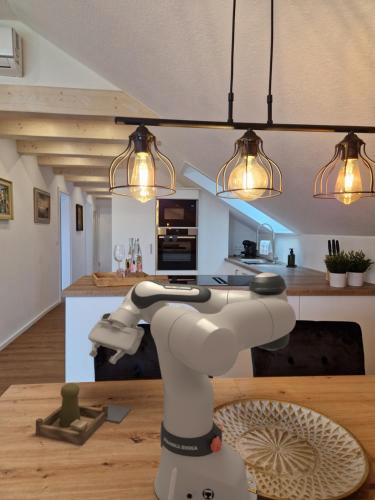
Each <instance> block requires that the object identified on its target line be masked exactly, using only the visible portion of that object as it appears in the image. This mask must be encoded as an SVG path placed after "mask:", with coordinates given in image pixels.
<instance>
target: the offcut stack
mask: <svg viewBox="0 0 375 500" xmlns="http://www.w3.org/2000/svg"><path fill="white" fill-rule="evenodd" d="M88 426H89V425H88V421H85V420H82V419H81V420H78V419H77V420H75V421H74V422H73V423H71V424H70V428H68V430H73V431H77V432H79V429H80V428H81V427H86V428H87V427H88Z"/></svg>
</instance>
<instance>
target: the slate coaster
mask: <svg viewBox="0 0 375 500" xmlns="http://www.w3.org/2000/svg"><path fill="white" fill-rule="evenodd" d="M107 405H108V417H107V418H105V421H104V422H109V423H115V424H119V425H120V424H121V423H122V422H123V420H124V419H125V418H126V416H127V415H128V414H129V413H130V412H131V411H132V407H129V406H128V407H127V406H123V405H122V406H121V405H116V404H110V403H108V404H107ZM97 417H98V416H96V417H95V418H94V420H95V419H96V418H97Z"/></svg>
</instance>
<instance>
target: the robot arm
mask: <svg viewBox="0 0 375 500" xmlns="http://www.w3.org/2000/svg"><path fill="white" fill-rule="evenodd" d="M286 285H287V284H286V281H285V279H284V278H283V277H282V276H281V275H280V274H276V273H274V272H262V273H258V274H256V275H255V276H252V278H251V279H250V280H249V285H248V290H243V289H242V290H240V289H230V290H227V289H226V290H224V289H223V290H222V289H215V288H208V287H206V286H203V285H197V284H185V283H169V282H161V281H157V280H155V279H144V280H140V281H139V282H137V283H136V284H134V285H133V286H132V287H131V288H130V290H129V291H128V292H127V294H125V295H126V296H125V297H124V299H123V301H122V303H121V305H120V306H118V308H117V309H116V310H115V311H112V312H105V313H102V314H101V315H100V320H98V321H97V322H96V323H95V325H94V326H93V328H92V329H91V330H90V332H89V333H88V335H87V336H88V337H87V338H88V340H89V341H90V342H91V343H92V344H91V350H90V352H89V354H88V355H89V356H90V357H92V358H95V357H96V356H97V355H98V348H100V346H102V347H105V348H108V349H111V350H115V351H116V353H115V354H114V355H111V356H110V358H109V359H108V362H109V363H110V364H113V365H115V364H116V363H117V361H118V360H120V359H121V358H122V357H124V355H125V354H128V355H135V354H136V352H137V350H138V349H139V346H140V344H141V341H142V339H143V337H144V335H145V330H144V328H143V326H138V325H139V323H140V321H141V320H143V321H144V322H145V323H147V324H149V325H150V334H151V336H152V338H153V340H154V344H155V346H156V352H157V358H158V364H159V370H160V375H161V380H162V388H163V410H162V411H163V414H162V417H163V418H162V421H161V422H160V434H159V435H160V436H159V441H160V448H161V452H160V457H159V458H160V459H159V465H158V469H157V474H156V476H155V479H154V484H153V488H154V492H155V495H156V496H157V498H158V499H159V500H258V493H257V494H254V493H252V492H249V491H248V487H249V488H253V489H256V490H257V491H258V487H257V483H256V480H255V478H254V476H253V475H252V473H251V472H249V471H247V469H246V465H245V462H244V459H243V457H242V455H241V454H240V453H239V452H238V451H236V450H235V449H234V448H233V447H231V446H230V445H229V444H228V443H226V441H225V440H223V423H222V422H221V423H220V425H217V424H216V422H215V421H214V410H215V409H214V407H215V406H214V405H215V402H214V401H215V392H214V391H215V390H214V387H213V383H212V381H211V379H210V377H215V378H216V377H222V376H224V375H225V374H227V373H229V372H230V371H231V370H232V368H234V366H235V365H236V363H237V361H238V359H239V354H240V352H242V351H244V350H248V349H251V348H254V347H258V348H259V349H262V350H267V351H276V350H280V349H283V348H285V347H286V346H287V345H289V340H290V332H292V331H293V329H294V328H295V327H296V321H297V317H296V312H295V310H294V307H293V306H292V305H291V304H290V303H289V300H288V299H289V298H288V295H287V290H286V289H287V286H286ZM170 304H182V306H181V305H170ZM183 304H184V305H187V306H190V307H191V308H193V309H194V310H193V309H191V308H188V307H186V306H183ZM247 481H248V482H249V481H252V482H253V483H248V482H247Z"/></svg>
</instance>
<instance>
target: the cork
mask: <svg viewBox="0 0 375 500" xmlns="http://www.w3.org/2000/svg"><path fill="white" fill-rule="evenodd" d="M79 394H80V386H79V384H77V383H74V382H71V383H70V382H69V383H66V384H64V385H63V386H61V389H60V396H61V398H62V399H61V400H62V402H61V405H60V407H61V413H60V418H59V419H58V420H59V421H58V425H59V427H60V428H63V429H69V428H70V424H71V423H73V422H74V421H75V420H77V419H78V420H82V418H81V415H80V411H79V405H80V404H79V397H78V396H79Z"/></svg>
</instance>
